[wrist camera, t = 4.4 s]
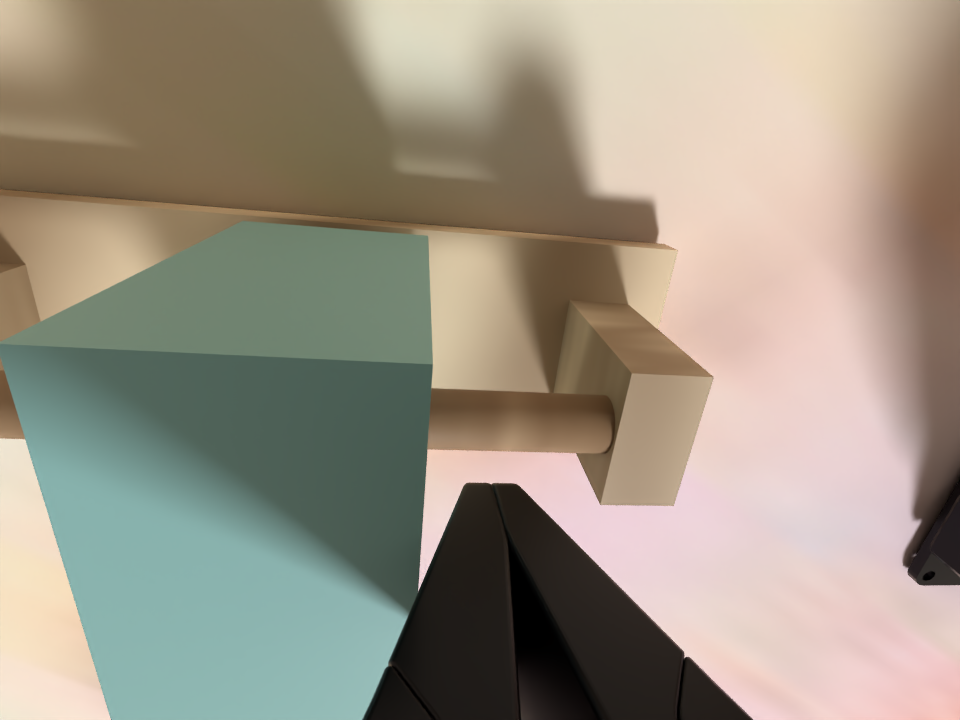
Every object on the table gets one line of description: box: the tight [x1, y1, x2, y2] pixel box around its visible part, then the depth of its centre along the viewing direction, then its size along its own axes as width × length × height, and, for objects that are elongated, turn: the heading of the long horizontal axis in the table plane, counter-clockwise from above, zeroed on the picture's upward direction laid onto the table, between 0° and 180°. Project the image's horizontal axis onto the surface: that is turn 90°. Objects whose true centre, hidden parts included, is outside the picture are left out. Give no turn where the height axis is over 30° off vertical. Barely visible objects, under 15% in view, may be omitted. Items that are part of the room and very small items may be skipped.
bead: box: [0, 221, 433, 720], centre depth 9 cm, size 4×6×7 cm, turn 174°
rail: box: [0, 189, 714, 506], centre depth 11 cm, size 18×6×5 cm, turn 84°
